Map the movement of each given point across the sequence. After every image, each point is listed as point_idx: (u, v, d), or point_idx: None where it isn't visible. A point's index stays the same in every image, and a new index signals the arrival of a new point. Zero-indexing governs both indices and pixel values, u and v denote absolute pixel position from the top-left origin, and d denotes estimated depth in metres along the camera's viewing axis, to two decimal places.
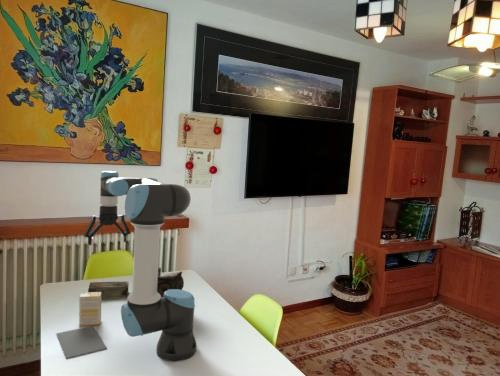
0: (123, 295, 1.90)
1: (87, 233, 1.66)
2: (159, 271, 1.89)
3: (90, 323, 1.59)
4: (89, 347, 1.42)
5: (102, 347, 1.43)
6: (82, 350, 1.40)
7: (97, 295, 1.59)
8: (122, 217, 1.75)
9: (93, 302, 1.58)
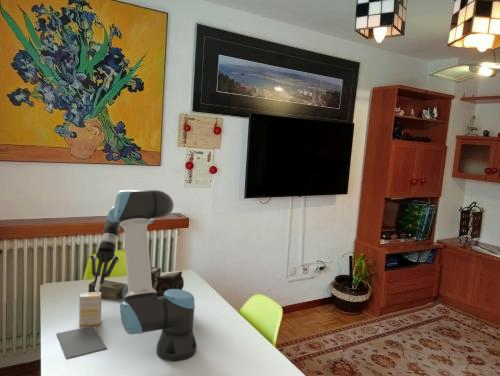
0: (118, 297, 1.87)
1: (93, 270, 1.74)
2: (159, 271, 1.89)
3: (90, 323, 1.59)
4: (89, 347, 1.42)
5: (102, 347, 1.43)
6: (82, 350, 1.40)
7: (97, 295, 1.59)
8: (115, 258, 1.79)
9: (93, 302, 1.58)
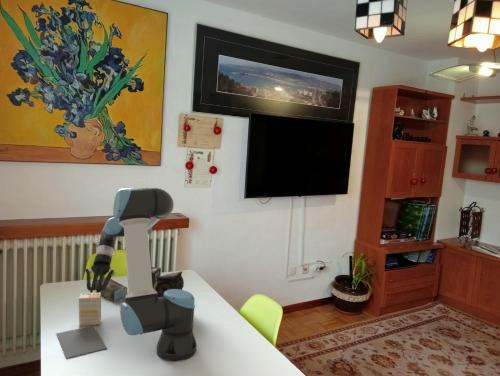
0: (111, 298, 1.85)
1: (88, 284, 1.68)
2: (159, 271, 1.89)
3: (90, 323, 1.59)
4: (89, 347, 1.42)
5: (102, 347, 1.43)
6: (82, 350, 1.40)
7: (96, 296, 1.58)
8: (111, 271, 1.73)
9: (93, 303, 1.57)
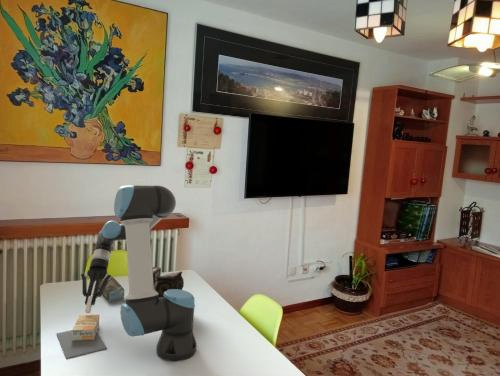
0: (107, 298, 1.84)
1: (83, 290, 1.61)
2: (159, 271, 1.89)
3: None
4: (89, 347, 1.42)
5: (102, 347, 1.43)
6: (82, 350, 1.40)
7: (90, 338, 1.47)
8: (108, 276, 1.67)
9: None
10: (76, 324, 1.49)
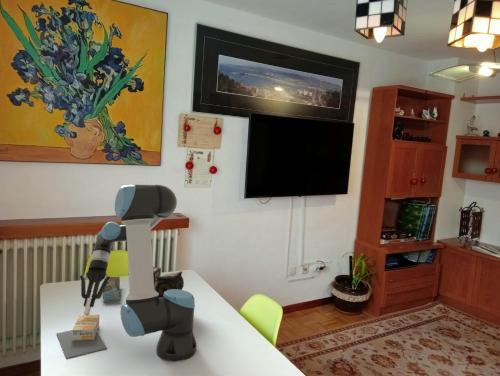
0: None
1: (82, 292, 1.59)
2: (159, 271, 1.89)
3: None
4: (89, 347, 1.42)
5: (102, 347, 1.43)
6: (82, 350, 1.40)
7: (90, 338, 1.47)
8: (107, 278, 1.65)
9: None
10: (76, 324, 1.49)
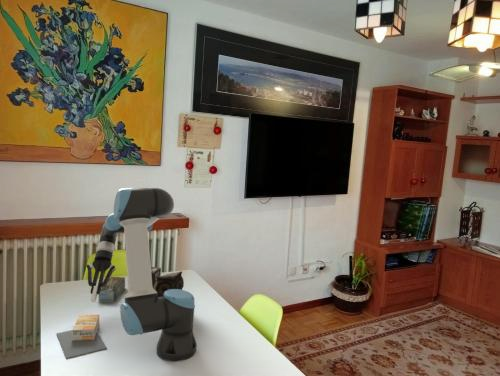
0: None
1: (89, 280, 1.69)
2: (159, 271, 1.89)
3: None
4: (89, 347, 1.42)
5: (102, 347, 1.43)
6: (82, 350, 1.40)
7: (90, 338, 1.47)
8: (112, 267, 1.74)
9: None
10: (76, 324, 1.49)
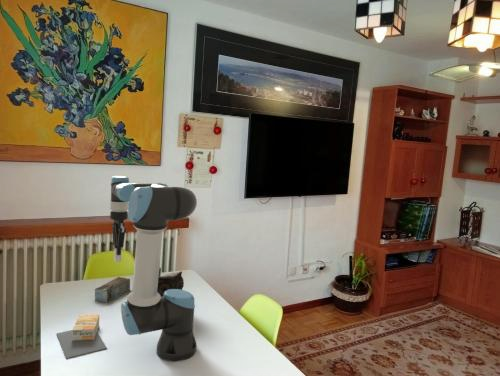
0: None
1: (113, 240, 1.73)
2: (159, 271, 1.89)
3: None
4: (89, 347, 1.42)
5: (102, 347, 1.43)
6: (82, 350, 1.40)
7: (90, 338, 1.47)
8: (119, 229, 1.66)
9: None
10: (76, 324, 1.49)
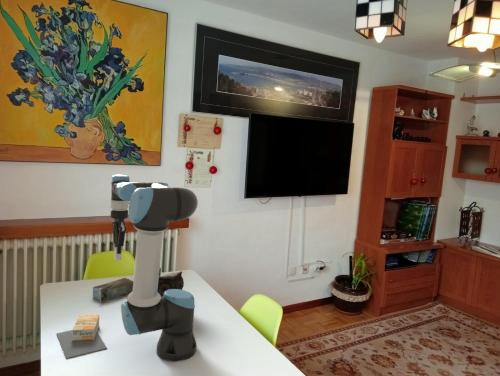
0: None
1: (113, 239, 1.73)
2: (159, 271, 1.89)
3: None
4: (89, 347, 1.42)
5: (102, 347, 1.43)
6: (82, 350, 1.40)
7: (90, 338, 1.47)
8: (120, 228, 1.65)
9: None
10: (76, 324, 1.49)
